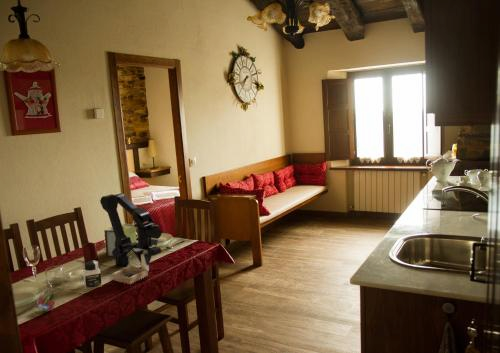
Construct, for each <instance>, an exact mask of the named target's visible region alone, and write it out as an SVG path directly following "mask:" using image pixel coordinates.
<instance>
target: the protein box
mask: <svg viewBox="0 0 500 353" xmlns="http://www.w3.org/2000/svg"><path fill="white" fill-rule="evenodd" d="M121 224H122V227H123V230H124V233H125V235H126V236H127V237H130V239H131V242H132V243H134V242H137V240H136V238H137V230H136V229H137V227H134V225H135V224H131V223H124V222H121ZM115 239H116V237H115V234H114V231H113V228H112V226H111V227H108V228H105V229H104V243H105V255H106V256H109V257H114V258H115V256H113V255H112V251H113V250H114V249H115Z"/></svg>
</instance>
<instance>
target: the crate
mask: <svg viewBox="0 0 500 353" xmlns="http://www.w3.org/2000/svg"><path fill="white" fill-rule="evenodd" d="M148 272H149V271H147V270H145V269H142V267H141V268H140V267H136V266H133V265H128V266H127V267H123V268H122V269H120V270H117V271H115V272H113V273H112V280H113V281H116V282H118V283H119V282H120V283H122V282H123V284H126V283H127V285H129V284H130V285H132V283H133V284H135V283H136V281H137V282H138V280H139V281H141V280H143V279H145V278H147V277H148V276H149V275H148ZM146 276H147V277H146ZM144 277H145V278H144ZM142 278H143V279H142ZM140 279H141V280H140ZM134 282H135V283H134Z"/></svg>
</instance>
